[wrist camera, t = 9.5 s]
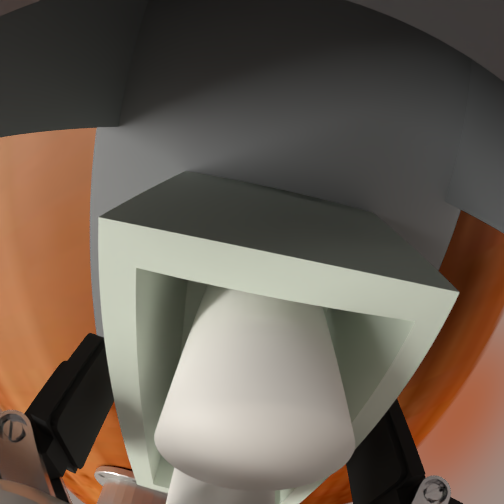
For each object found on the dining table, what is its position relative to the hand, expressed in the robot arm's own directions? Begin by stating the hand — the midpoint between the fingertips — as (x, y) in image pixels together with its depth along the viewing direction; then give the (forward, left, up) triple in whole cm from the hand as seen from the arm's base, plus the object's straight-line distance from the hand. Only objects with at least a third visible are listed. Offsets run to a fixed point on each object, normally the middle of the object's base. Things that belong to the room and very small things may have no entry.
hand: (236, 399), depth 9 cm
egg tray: (0, 0, -4) cm, 4 cm away
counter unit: (+5, 0, -6) cm, 8 cm away
